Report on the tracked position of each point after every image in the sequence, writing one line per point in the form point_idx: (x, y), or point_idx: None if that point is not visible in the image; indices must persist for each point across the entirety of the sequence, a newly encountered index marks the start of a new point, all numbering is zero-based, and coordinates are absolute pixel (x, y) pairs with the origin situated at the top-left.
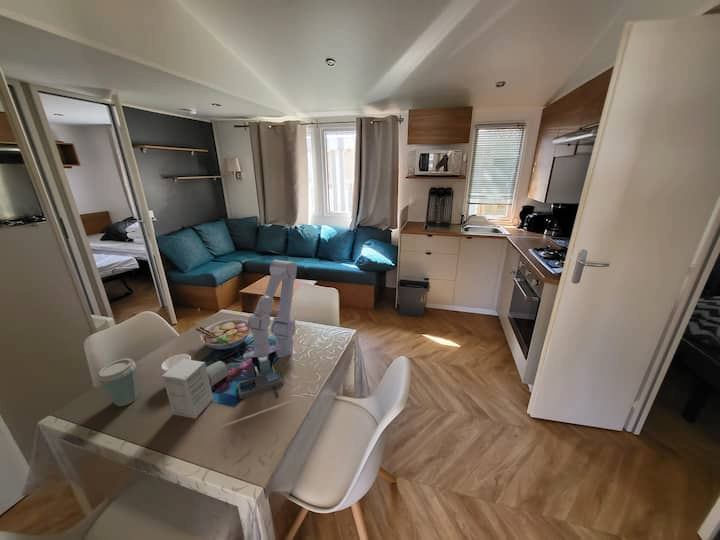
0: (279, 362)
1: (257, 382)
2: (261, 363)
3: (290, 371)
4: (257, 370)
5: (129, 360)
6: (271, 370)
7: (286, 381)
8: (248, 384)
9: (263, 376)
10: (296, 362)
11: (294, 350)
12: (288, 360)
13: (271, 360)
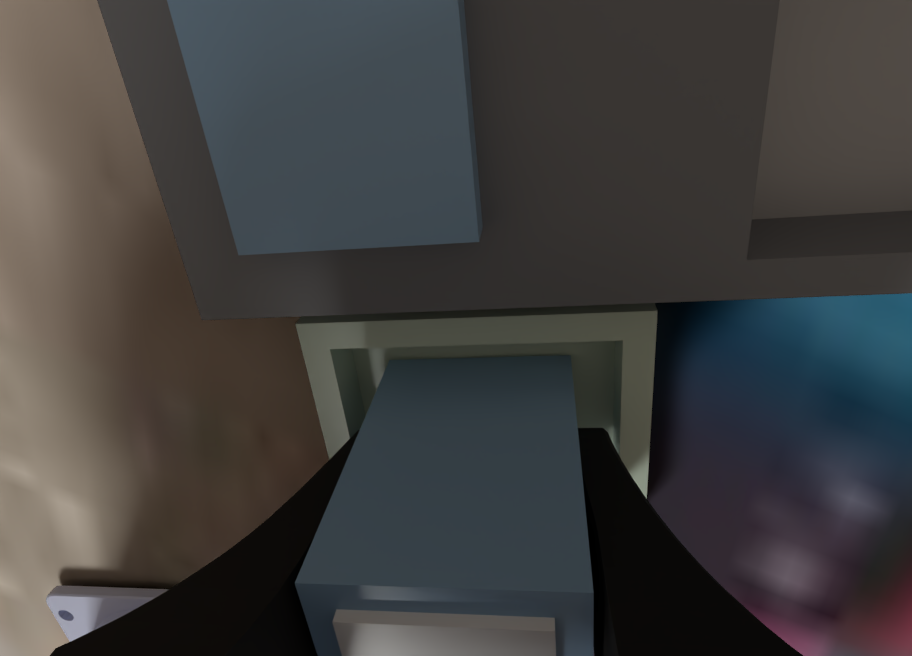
0: None
1: (718, 81)
2: (532, 582)
3: (76, 279)
4: None
5: None
6: None
7: None
8: (861, 215)
9: (536, 247)
10: (17, 434)
11: (71, 638)
12: (142, 513)
13: (249, 577)
